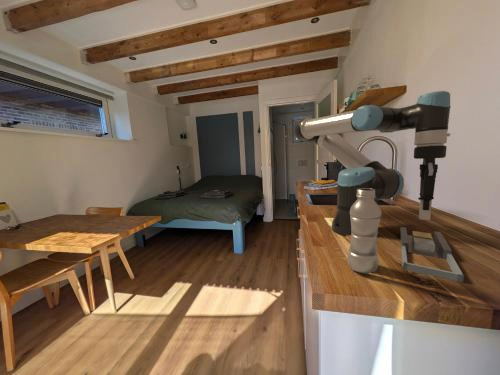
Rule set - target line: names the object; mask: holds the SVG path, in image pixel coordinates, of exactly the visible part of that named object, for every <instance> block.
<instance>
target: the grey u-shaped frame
mask: <svg viewBox="0 0 500 375" xmlns="http://www.w3.org/2000/svg"><path fill="white" fill-rule="evenodd" d="M400 249H401V248H400ZM401 261H402V262H401V263H402V270H405V271H411V272H415V273H418V274H422V275H423V274H424V275H428V276H432V277H437V278H441V279H445V280H450V281H454V282H458V283H464V280H465V279H464V277H465V276H464V274H463V272H462V270H461V269H460V266H459V265H458V263H457V262H456V260H455V258H454V256H453V254H452V255H451V254H447V259H446V262H447V263H448V265H449V267H450V269H451V271H448V270H444V269H439V268H434V267H430V266H425V265H420V264H416V263H411V262H408V257H407V252H406V248H405V246H402V249H401Z"/></svg>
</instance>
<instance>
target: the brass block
mask: <svg viewBox="0 0 500 375" xmlns="http://www.w3.org/2000/svg"><path fill="white" fill-rule="evenodd" d="M411 234H412V235H411V236H412V243H413V239H414V237H416V238H423V239H430V240H432V239H433V238H434V237H433V236H432V234H431V232H430V233H429V232H424V231H416V230H415V231H414V230H412V233H411Z"/></svg>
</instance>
